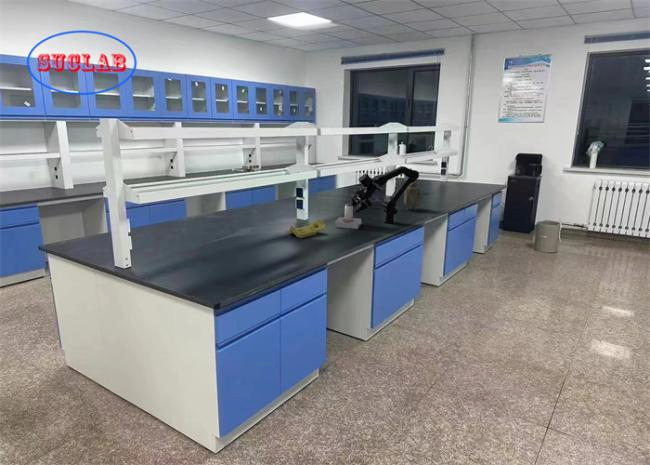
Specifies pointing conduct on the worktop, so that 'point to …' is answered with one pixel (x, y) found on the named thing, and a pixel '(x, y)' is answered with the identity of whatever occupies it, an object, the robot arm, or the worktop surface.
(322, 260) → the worktop surface
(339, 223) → the socket box
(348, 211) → the plug
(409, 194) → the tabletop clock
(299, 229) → the plastic component
